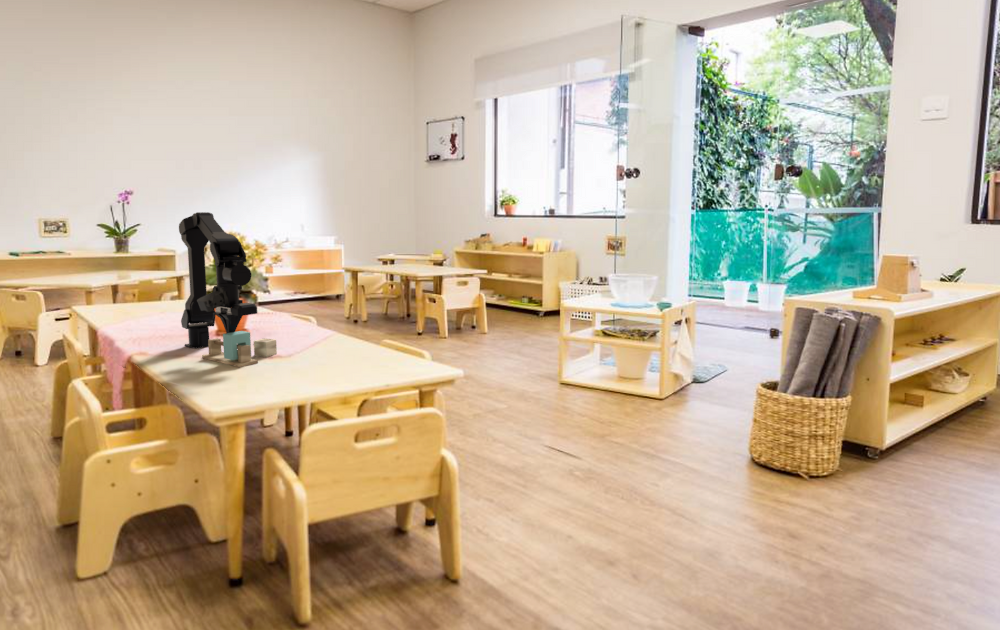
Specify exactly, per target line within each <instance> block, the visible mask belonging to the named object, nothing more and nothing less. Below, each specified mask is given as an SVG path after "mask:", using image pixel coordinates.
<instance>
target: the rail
mask: <svg viewBox="0 0 1000 630" xmlns="http://www.w3.org/2000/svg"><path fill="white" fill-rule="evenodd" d="M207 347H208V353H206V354H202V359H206V360H208V361H209V360H210V361H214V362H218V363H222V364H225V365H231V366H233V367H238V368H241V367H245V366H250V365H256V364H258V363H259V360H258V359H253V358H252V348H251V349H250V345H243V346H241V345H237V350H238V359H236V360H230V359H226V358H224V351H222V347H224V345H223V341H222V340H221V338H212V339H209V340H208V346H207Z"/></svg>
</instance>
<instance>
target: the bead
mask: <svg viewBox="0 0 1000 630" xmlns="http://www.w3.org/2000/svg"><path fill="white" fill-rule="evenodd" d="M222 340H223V341H222V342H223V345H224V346H223V352H224V358H226V359H230V360H236V359H238V349H237V345H241V346H243V345H250V349H251V350H252V346H251V332H250V331H245V330H239V331H237V330H236V331H235V332H231V333H223V334H222Z"/></svg>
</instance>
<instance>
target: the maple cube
mask: <svg viewBox="0 0 1000 630" xmlns="http://www.w3.org/2000/svg"><path fill="white" fill-rule="evenodd" d="M253 352H254V353H253V354H254V357H265V358H269V357H272V356H274V354H275V355H277V353H278V351H277V339H276V338H275V339H274V338H273V339H272V338H262V339H256V340H254V341H253ZM271 355H272V356H271Z"/></svg>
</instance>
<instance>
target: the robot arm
mask: <svg viewBox="0 0 1000 630" xmlns="http://www.w3.org/2000/svg"><path fill="white" fill-rule="evenodd" d="M178 232H179V234H180V237H181V238H180V239H181V241H182V242H183V244H184V245H185V247H186V248H187V257H188V258H187V259H188V260H187V261H188V274H189V275H188V276H189V292H190V293H189V294H190V295H189V296H188V298H187V300H186V302H185V303H184V305H185V307H184V310H183V313H182V317H181V320H180V323H181V327H182V328H183V329H185V330H187V332H188V335H187V336H188V343H184V347H187V348H192V349H200V348H207V347H208V340H210V332H209V331H210V330H209V328H210V327H215V323H216V316H217V317H218V318H220V321H221V323H222V325H223V327H224V330H225V332H226V333H231V332H236V331H237V328H238V326H239V324H240V321H241V320H242V318H243V317H244V316H249V315H256V314H258V306H257V305H256V304H255V303H251V302H244V301H243V299H240V290H243V286H245V285H247V284H249V282H251V280H252V271H251V269H250V268H249V267H248V266H247V265H245V264H244V263H247V254H246V251H245V249H244V248H243V246H242V243H241V241H240V240H239V239H238V238H237V237H236V236H235V235H233V234H231V233H227V232H226V231H225V230H224V229H223V228H222V227H221V225H220V224H219V223H218V222H217V220H216V219H215V217H214V214H213V213H211V212H206V211H205V212H195V213H193V214H192V215H190V216H188V217H185V218H183V219H182V220H181V221H180V222H179V224H178ZM208 243H210V244H209V252H210V254H211V256H212V258H213V260H214V261H215V262H214V265H215V275H216V276H215V277H216V285H213V288H212V292H210V293H207V276H206V275H207V274H206V253H205V248H206V247H207V245H208Z"/></svg>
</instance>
